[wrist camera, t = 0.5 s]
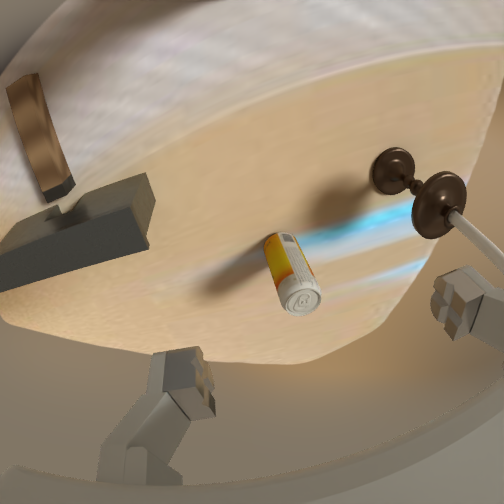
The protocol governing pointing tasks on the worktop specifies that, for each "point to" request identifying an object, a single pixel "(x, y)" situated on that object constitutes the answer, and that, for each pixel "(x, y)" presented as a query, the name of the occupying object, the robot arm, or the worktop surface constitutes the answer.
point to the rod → (39, 137)
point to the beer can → (292, 275)
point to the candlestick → (431, 200)
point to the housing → (78, 233)
